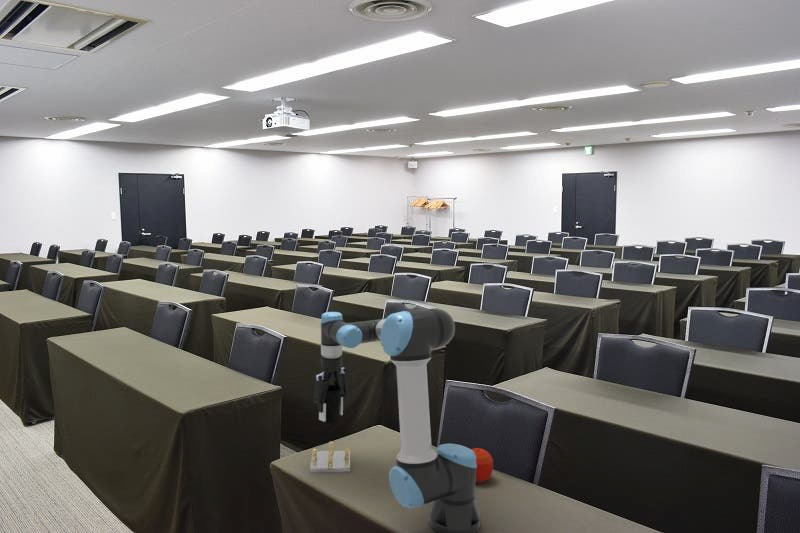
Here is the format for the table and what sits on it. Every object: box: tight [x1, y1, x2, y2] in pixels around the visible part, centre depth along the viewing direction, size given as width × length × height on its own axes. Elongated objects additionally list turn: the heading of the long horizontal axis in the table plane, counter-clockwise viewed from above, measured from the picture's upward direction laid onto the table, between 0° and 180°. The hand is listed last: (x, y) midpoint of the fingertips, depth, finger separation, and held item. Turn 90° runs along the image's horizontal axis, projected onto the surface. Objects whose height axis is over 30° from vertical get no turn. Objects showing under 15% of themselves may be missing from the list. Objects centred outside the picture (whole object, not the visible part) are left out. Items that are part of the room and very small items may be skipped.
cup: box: [324, 384, 342, 424], centre depth 202 cm, size 8×8×12 cm
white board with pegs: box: [309, 440, 351, 474], centre depth 204 cm, size 14×14×6 cm
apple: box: [470, 447, 494, 484], centre depth 194 cm, size 10×10×12 cm
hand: (331, 417), depth 203 cm, fingers closed on cup, 8 cm apart
